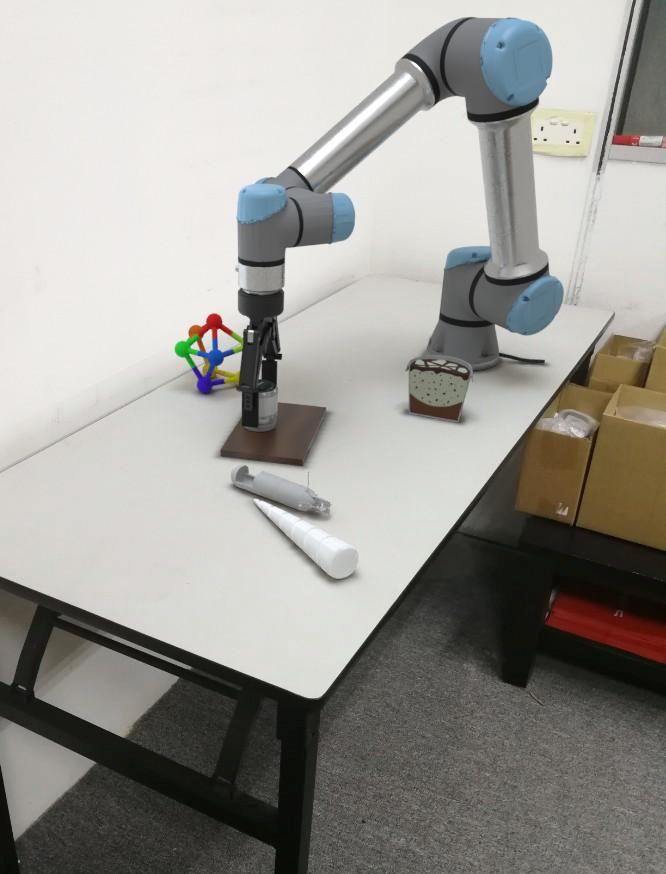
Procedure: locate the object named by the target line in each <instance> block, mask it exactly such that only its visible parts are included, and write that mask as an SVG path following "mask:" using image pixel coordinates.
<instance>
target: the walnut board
mask: <svg viewBox="0 0 666 874" xmlns="http://www.w3.org/2000/svg"><path fill="white" fill-rule="evenodd" d="M277 413H278V416H277V422H276V425H275V428H273V429H272V430H269V431H265V432H255V431H250V430H248V429H246V428H245V427H244V426H242V416H241V417H240V419H239V420H238V422H237V423H236V425H235V426H234V428H233V430H232V431H231V433H230V434H229V436H228V437H227V439H226V440H225V442H224V443H223V445H222V447H220V457H226V458H234V459H243V460H251V461H259V462H260V461H261V462H266V463H274V464H275V463H276V464H285V465H292V466H300V467H303V465H304V464H305V462H306V459H307V457H308V455H309V452H310V450H311V448H312V446H313V444H314V441H315V439H316V436H317V434H318V432H319V430H320V428H321V426H322V423H323V421H324V419H325V417H326V415H327V407H326V406H318V405H310V404H309V405H308V404H301V403H292V402H290V403H289V402H282V401H281V402H280V401H278V411H277Z"/></svg>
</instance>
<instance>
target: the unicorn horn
mask: <svg viewBox="0 0 666 874" xmlns="http://www.w3.org/2000/svg"><path fill="white" fill-rule="evenodd" d="M253 502H254V503H255V505H256V506H257V507H258V508H259V509H260V510H261V512H262V513H264V515H266V517H268V519H270V521H271V522H272V523H274V524H275V525H276V526H277V528H278V529H280V530H281V531H282V532H283V533H284V534H285V536H287V537H288V538H289V539H290V540H291V541H292V542H293V543H295V545H296V546H298V548H300V549H301V550H302V551H303V553H305V554H306V555H307V556H308V557H309V558H310V559H311V560H312V561H313V562H314V563H315V564H316V565H317V566H318V567H320V568H321V569H322V570H323V572H325V573H326V574H327V575H328V576H330V577H332V578H333V579H337V580H339V579H344V578H348V577H349V576H350V575H352V574H353V573H354V571H355V570H356V569H357V566H358V564H359V552H358V550H357V548H356V547H355V546H353V545H351V544H350V543H348V542H346V541H344V540H342V539H340V538H339V537H336V536H334V535H332V534H330V533H328V532H326V530H325V531H324V530H322V529H321V528H319V527H317V526H315V525H313V524H311V523H310V522H308V521H306V520H303V519H302V518H300V517H298V516H296V515H293V513H290V512H288V511H286V510H284V509H282V508H279V507H277V506H274V505H273V504H271V503H269V502H267V501H264V500H260V499H258V498H253Z"/></svg>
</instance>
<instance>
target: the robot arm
mask: <svg viewBox="0 0 666 874" xmlns="http://www.w3.org/2000/svg"><path fill="white" fill-rule="evenodd" d="M553 59H554V58H553V50H552V46H551V42H550V39H549V37H548V35H547V34H546V33H545V31H544V30H543V29H542V28H541V27H540V26H539V25H538V24H536V23H535V22H532V21H529V20H525V19H521V18H518V17H509V16H508V17H476V16H466V17H460V18H457V19H454V20H452V21H449V22H447V23H445V24H444V25H442V26H440V27H439V28H437V29H436V30H434V31H432V33H430V34H428V35H427V36H426V37H425V38H423V39H421V40H420V42H418V43H417V44H416V45H414V46H413V47H412V48H411V49H410V50H408V51H407V53H405V54H404V55H403V56H402V57H400V58H399V59H398V61H396V62H395V65H394V71H393V73H392V74H391V75H390V76H388V78H386V79H385V80H384V81H383V82H382V83H380V85H378V86H377V87H376V88H375V89H374V90H373V91H372V92H370V94H368V95H367V96H366V97H365V98H364V99H363V100H362V101H360V103H358V104H357V105H356V106H355V107H354V108H353V109H351V110H350V111H349V112H348V113H347V114H346V115H345V116H344V117H342V118H341V119H340V120H339V121H338V122H337V123H336V124H334V125H333V126H332V127H331V128H330V129H329V130H328V131H326V133H324V134H323V135H322V136H321V137H320V138H319V139H317V140H316V141H315V142H314V143H313V144H312V145H311V146H309V148H307V149H306V150H305V151H304V152H303V153H301V155H300V156H298V157H297V158H296V159H295V160H294V161H292V162H291V163H290V165H288V166H286V168H285V169H284V170H283V171H282V172H280V173H279V174H278V175H277V176H276V177H275V176H274V177H273V176H270V177H268V176H267V177H262V178H260V179H258V180H257V181H256V182H254V183H252V184H251V183H250V184H247V185H245V186H243V187H241V188H240V190H239V191H238V194H237V195H238V196H237V198H238V200H237V210H236V211H237V212H236V223H237V225H236V226H237V265H235V266H234V271H235V272H236V273H237V274H238V275H237V285H238V286H237V287H239V289H238V291H237V311H238V312H239V314H241V316H243V317H247V318H248V319H249V322H248V324H247V325H246V328H244V329H243V331H242V338H243V348H242V352H241V357H240V369H239V371H240V375H239V384H238V385H236V386H235V387H236V391H238V392H241V417H242V426H245V427H254V428H258V426H259V390H257V386H258V380H259V379H264V380H268V381H271V382H273V383H275V384H276V386H277V387H278V361H282V360H283V353H281V351H282V350H281V349H282V348H281V340H280V332H279V324H278V317H279V316H281V315H282V314H283V313H284V311H285V291H284V289H283V288H284V287H285V286H286V284H285V283H286V250H287V249H293V248H299V247H300V248H301V247H309V246H310V247H311V246H319V245H331V244H334V243H339V242H344V241H346V240H348V239H349V238H350V237H351V235H352V234H353V232H354V229H355V225H356V211H355V206H354V203H353V201H352V199H351V198H350V197H349V196H348V194H346V193H344V192H332V191H331V189H333V188H334V187H335V186H336V185H337V184H338V183H339V182H341V181H342V180H343V179H344V178H345V177H346V176H347V175H348V174H350V173H352V171H353V170H354V169H355V168H356V167H358V166H359V165H360V164H361V163H363V162H364V161H365V160H366V159H367V158H368V157H369V156H370V155H371V154H373V153H374V152H375V151H376V150H377V149H378V148H379V147H380V146H382V145H383V144H384V143H385V142H386V141H387V140H388V139H389V138H391V136H393V135H394V134H395V133H396V132H397V131H399V130H400V129H401V128H402V127H404V125H405V124H407V122H409V121H410V120H411V119H412V118H414V117H415V115H417V114H418V113H419V112H420V111H422V112H428V111H430V110H432V109H433V108H434V107H435V106H436V105H437V104H438V103H440V102H442V101H443V100H446V99H449V98H453V97H460V98H464V101H465V109H466V118H467V121H468V122H469V123H470V124H471V125H473V126H475V127H476V128H477V134H478V141H479V153H480V162H481V163H480V164H481V173H482V180H483V181H482V182H483V192H484V200H485V201H484V202H485V211H486V220H487V228H488V230H487V231H488V241H489V245H470V246H461V247H456V248H453V249H451V250H450V251H449V252H448V253H447V256H446V260H445V265H444V267H443V277H442V287H441V297H440V304H439V305H440V306H439V315H438V320H437V323H436V325H435V328H434V330H433V332H432V334H430V335H429V337H428V340H427V345H426V349H425V356H426V355H442V356H449V357H454V358H458V359H461V360H463V361H465V362H467V363H468V364H470V365H471V367H472V370H473V371H483V370H487V369H490V368H493V367H494V366H496V365H498V363H499V357H500V358H503V359H509V360H512V361H516V362H522V363H526V364H527V363H530V364H545V363H546V359H540V358H539V359H535V358H524V357H519V356H516V355H511V354H508V353H502V352H500V348H499V342H498V341H499V340H498V336H497V330H496V326H498V327H500V328H502V329H504V330H506V331H508V332H510V333H513V334H518V335H521V336H527V337H528V336H533V335H537V334H539V333H540V332H542V331H543V330H544V329H546V328H548V327H549V325H550V324H551V323H552V322H553V321H554V319H555V317H556V316H557V315H558V313H559V312H560V310H561V307H562V304H563V300H564V297H565V296H564V295H565V291H564V290H565V288H564V286H563V283H562V282H561V280H559V278H557V277H556V276H555V275H551V274H550V264H549V261H550V259H549V255H548V253H547V252H545V251H544V250H543V249H541V248H540V242H539V227H538V225H539V224H538V211H537V196H536V195H537V194H536V180H535V167H534V149H533V136H532V134H533V133H532V121H531V118H532V117H531V116H532V115H533V113H534V112H535V111H536V109H537V108H538V107H539V105H540V96H541V95H542V94H543V93H544V91H545V89H546V88H547V86H548V82H547V80H548V79H550V78H551V75H552V71H553V63H554V62H553ZM250 343H251V344H250ZM260 373H261V374H260ZM260 375H261V378H260Z"/></svg>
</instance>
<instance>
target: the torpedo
mask: <svg viewBox="0 0 666 874" xmlns="http://www.w3.org/2000/svg"><path fill="white" fill-rule="evenodd" d="M230 479H231V482H232V484H233V485H234V486H235V487H237V488H239V489H242V490H245V491H247V492H250V493H253V494H256V495H257V496H261V497H263V498H266V499H268V500H271V501H274V502H276V503H279V504H282V505H285V506H287V507H290V508H292V509H295V510H297V511H300V512H310V511H315V512H317V513H320V514H325V515H328V516H330V512H331V509H330V508H331V506H332V505H333V504H331V501H329V500H326V499H324V498H322V497H320V496H319V494H318V493H315V491H314V490H313V489H312V488H310V487H309V485H310V471H308V472H307V486H305V485H302V484H299V483H296V482H294V481H292V480H289V479H286V478H284V477H281V476H278V475H275V474H272V473H269V472H267V471H264V470H263V471H259V472H258V473H257V474H256V475H253V474H251V473H250V469H249V466H248V465H247V464H240V465H239V464H238V465H237V466H236V467H234V468H232V470H231V471H230Z"/></svg>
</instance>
